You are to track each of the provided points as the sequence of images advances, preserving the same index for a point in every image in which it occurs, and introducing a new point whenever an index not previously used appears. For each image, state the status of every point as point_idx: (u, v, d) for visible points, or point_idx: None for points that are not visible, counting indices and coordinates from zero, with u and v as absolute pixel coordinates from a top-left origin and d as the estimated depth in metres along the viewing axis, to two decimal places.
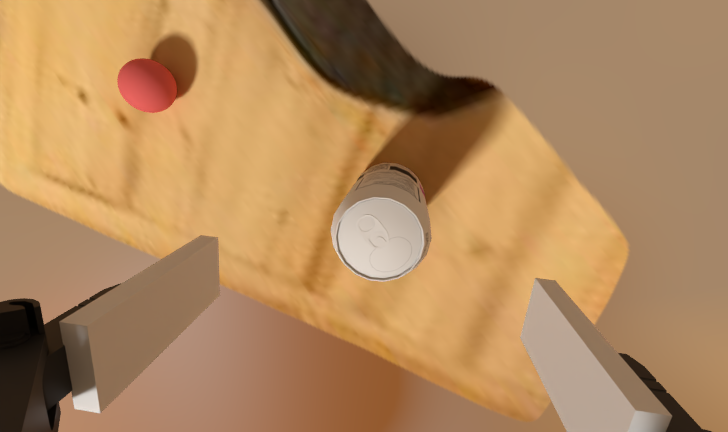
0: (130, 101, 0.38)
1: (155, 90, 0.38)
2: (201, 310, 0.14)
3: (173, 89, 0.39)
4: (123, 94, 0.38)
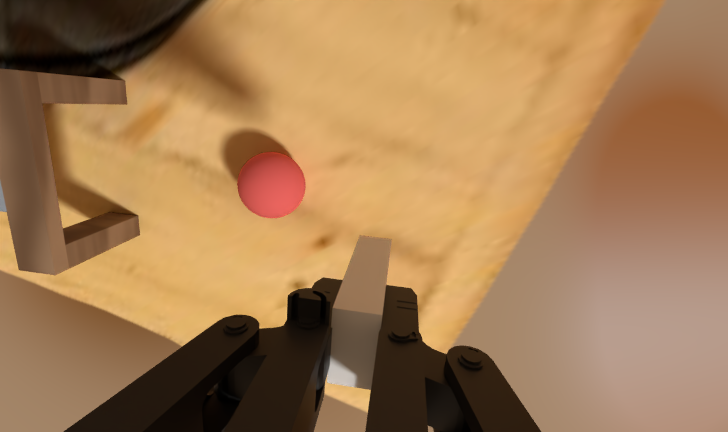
0: (283, 201, 0.28)
1: (268, 164, 0.28)
2: None
3: (275, 152, 0.30)
4: (275, 207, 0.29)
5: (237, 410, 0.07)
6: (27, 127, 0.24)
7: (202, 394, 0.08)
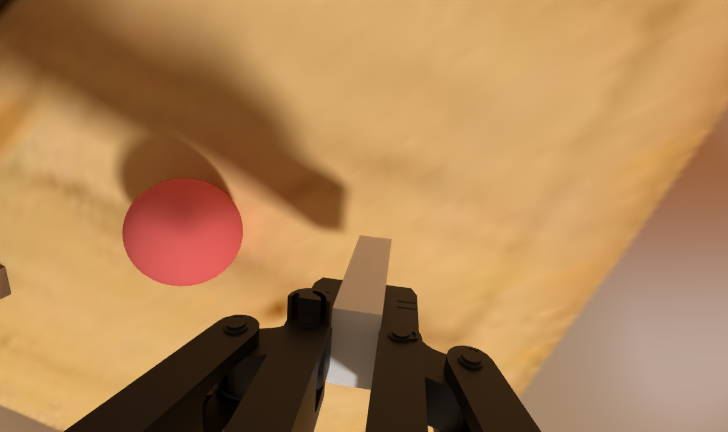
0: (196, 263, 0.17)
1: (169, 202, 0.16)
2: None
3: (188, 179, 0.18)
4: (182, 275, 0.17)
5: (237, 410, 0.07)
6: None
7: (202, 395, 0.08)
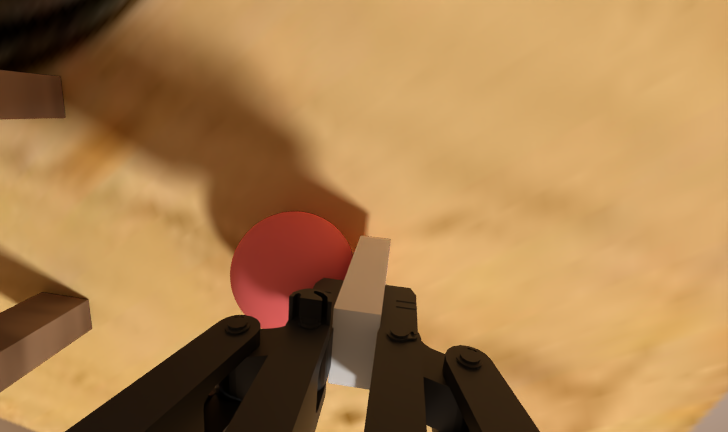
0: None
1: (281, 243, 0.14)
2: None
3: (303, 214, 0.16)
4: None
5: (238, 410, 0.07)
6: None
7: (203, 395, 0.08)
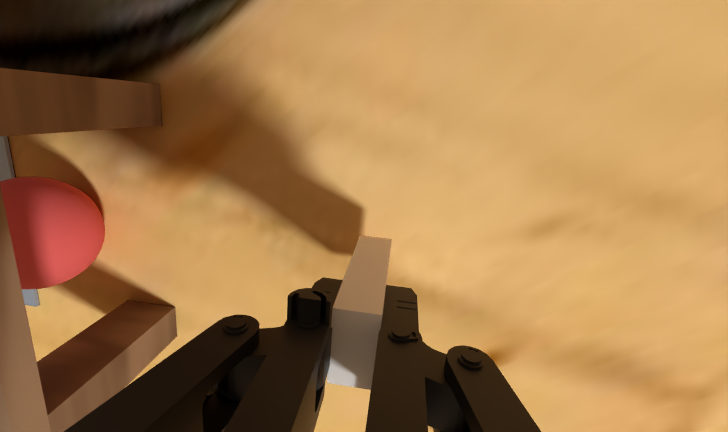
0: None
1: None
2: None
3: (33, 178, 0.17)
4: None
5: (237, 410, 0.07)
6: None
7: (202, 395, 0.08)
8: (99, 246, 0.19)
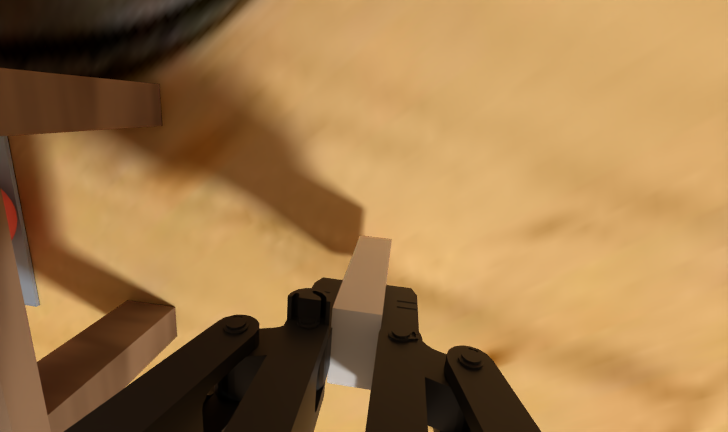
0: None
1: None
2: None
3: None
4: None
5: (237, 410, 0.07)
6: None
7: (202, 395, 0.08)
8: None
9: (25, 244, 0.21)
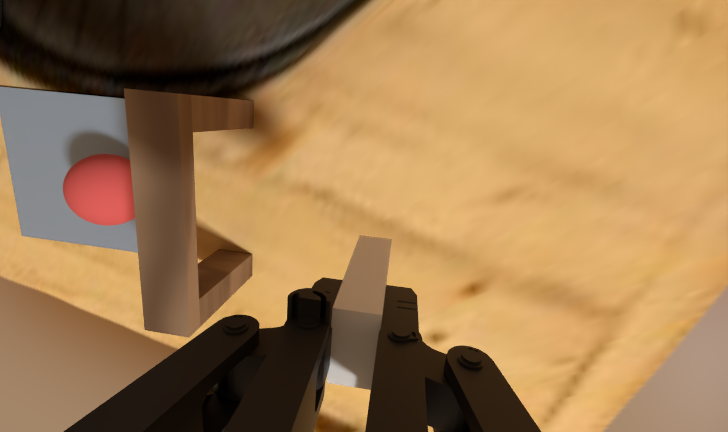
0: None
1: None
2: None
3: (102, 154, 0.27)
4: None
5: (237, 410, 0.07)
6: (178, 162, 0.20)
7: (202, 394, 0.08)
8: (80, 207, 0.26)
9: None
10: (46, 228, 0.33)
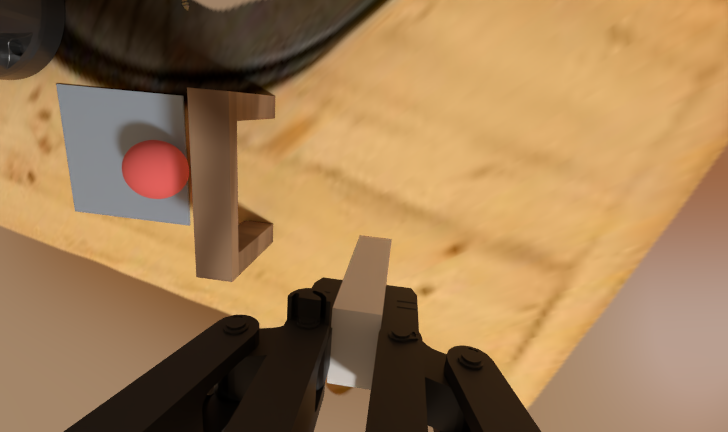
0: None
1: None
2: None
3: (152, 140, 0.33)
4: None
5: (237, 410, 0.07)
6: (227, 144, 0.26)
7: (202, 394, 0.08)
8: (138, 183, 0.32)
9: (187, 187, 0.37)
10: (97, 204, 0.39)
